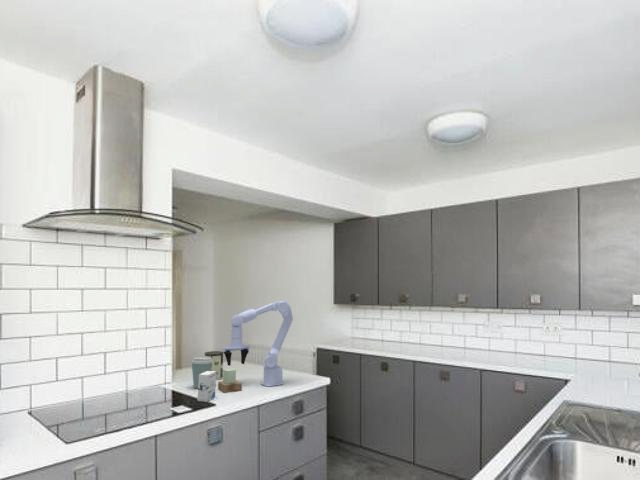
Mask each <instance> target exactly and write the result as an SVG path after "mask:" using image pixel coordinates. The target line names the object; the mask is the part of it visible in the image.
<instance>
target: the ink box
mask: <svg viewBox="0 0 640 480" xmlns="http://www.w3.org/2000/svg"><path fill="white" fill-rule="evenodd" d="M216 381H217V380H216V371H206V372H204V373H201V374H199V383H198V389H197V402H204V403H207V402H209V401H210V400H212V399H214V398H215V397H216V383H217V382H216Z"/></svg>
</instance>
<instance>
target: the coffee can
mask: <svg viewBox="0 0 640 480" xmlns="http://www.w3.org/2000/svg"><path fill="white" fill-rule="evenodd" d="M204 357H208V358H212V360H213V362H212V366H211V371H216V381H219V380H223V370H224V352H223V351H220V350H218V351H217V350H214V351H213V350H212V351H206V352H204Z"/></svg>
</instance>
